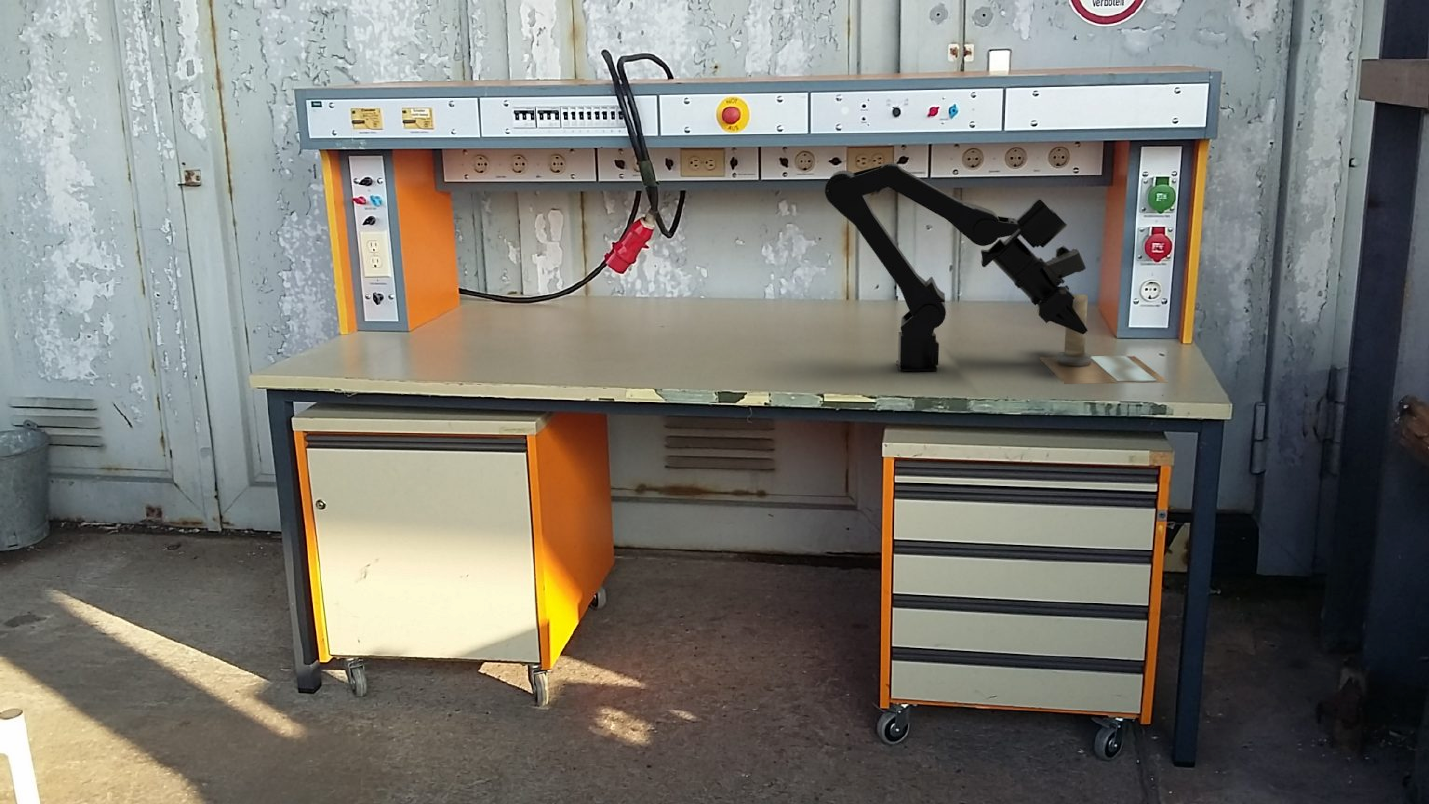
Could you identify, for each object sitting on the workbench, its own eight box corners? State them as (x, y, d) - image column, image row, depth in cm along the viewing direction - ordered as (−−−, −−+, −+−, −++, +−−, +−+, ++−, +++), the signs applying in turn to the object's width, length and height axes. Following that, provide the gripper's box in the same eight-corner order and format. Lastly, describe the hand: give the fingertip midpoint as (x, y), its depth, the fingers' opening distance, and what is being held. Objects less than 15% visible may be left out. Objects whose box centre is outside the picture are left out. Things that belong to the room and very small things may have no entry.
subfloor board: (1064, 390, 202) (1065, 382, 202) (1038, 364, 220) (1039, 356, 219) (1168, 389, 202) (1168, 380, 202) (1134, 362, 219) (1134, 355, 219)
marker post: (1062, 367, 212) (1065, 299, 209) (1053, 359, 218) (1056, 293, 214) (1094, 366, 212) (1098, 298, 209) (1085, 358, 217) (1089, 292, 214)
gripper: (1064, 242, 200) (1129, 309, 202) (1052, 226, 218) (1112, 288, 219) (1012, 288, 204) (1076, 354, 205) (1005, 269, 222) (1064, 330, 223)
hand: (1084, 330), depth 213 cm, fingers closed on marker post, 3 cm apart
